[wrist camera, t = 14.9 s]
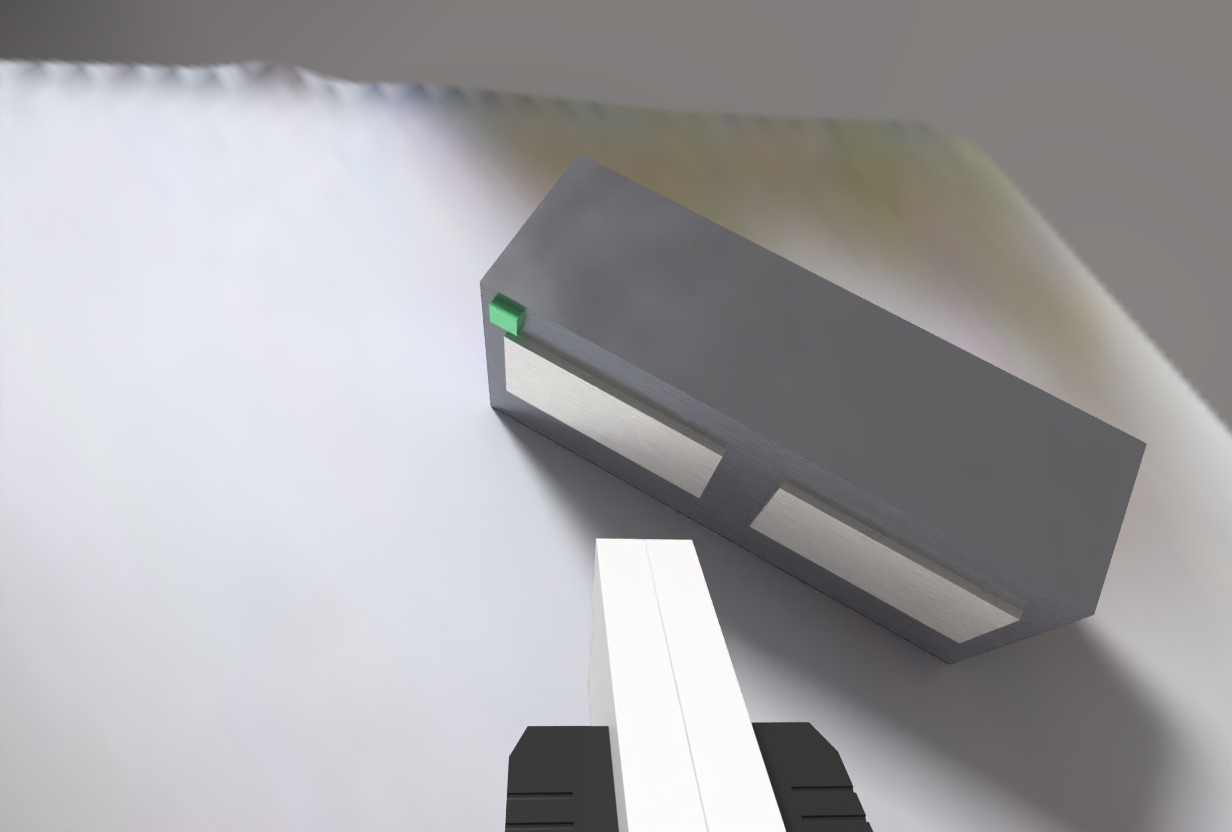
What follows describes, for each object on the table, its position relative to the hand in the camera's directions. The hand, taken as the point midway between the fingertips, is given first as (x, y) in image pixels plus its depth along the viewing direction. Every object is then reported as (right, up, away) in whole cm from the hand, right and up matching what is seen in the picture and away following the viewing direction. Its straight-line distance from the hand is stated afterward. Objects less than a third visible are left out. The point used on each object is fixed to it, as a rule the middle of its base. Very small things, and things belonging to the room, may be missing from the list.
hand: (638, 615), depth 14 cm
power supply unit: (+5, +1, +21) cm, 21 cm away
